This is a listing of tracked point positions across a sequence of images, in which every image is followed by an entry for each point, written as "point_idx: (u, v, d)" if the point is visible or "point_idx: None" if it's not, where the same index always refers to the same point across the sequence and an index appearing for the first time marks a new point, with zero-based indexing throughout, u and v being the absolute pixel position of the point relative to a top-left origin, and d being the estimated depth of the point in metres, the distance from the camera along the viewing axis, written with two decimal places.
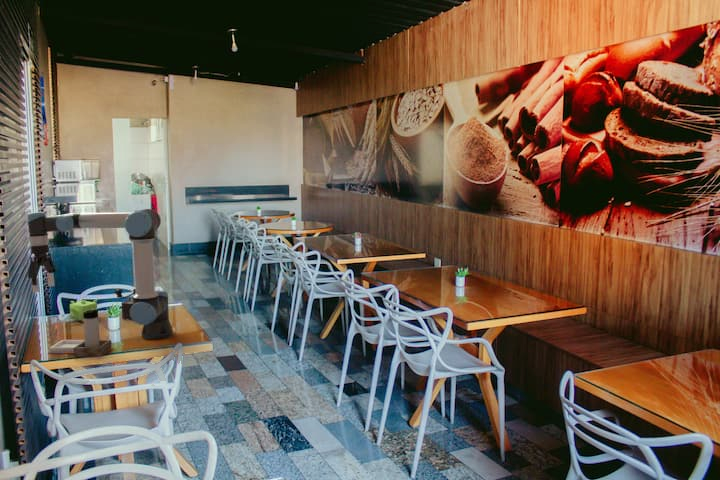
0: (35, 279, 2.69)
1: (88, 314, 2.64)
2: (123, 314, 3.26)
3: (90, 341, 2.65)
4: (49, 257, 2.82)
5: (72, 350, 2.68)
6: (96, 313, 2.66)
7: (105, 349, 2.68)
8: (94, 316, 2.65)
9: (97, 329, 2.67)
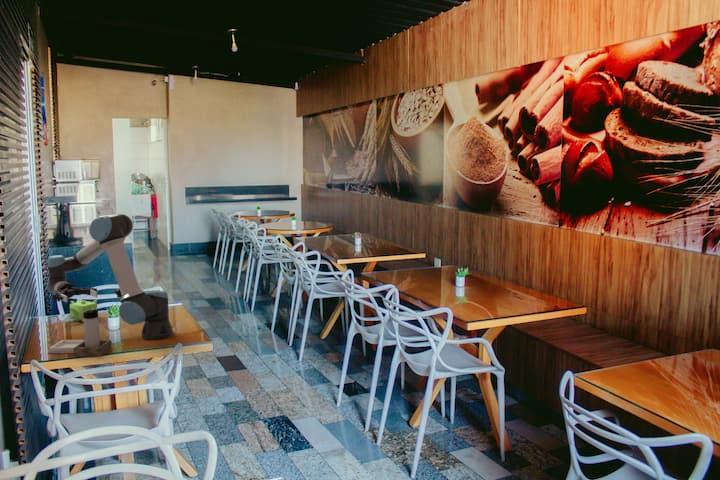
0: (59, 295, 2.71)
1: (88, 314, 2.64)
2: None
3: (90, 341, 2.65)
4: (82, 288, 2.87)
5: (72, 350, 2.68)
6: (96, 313, 2.66)
7: (105, 349, 2.68)
8: (94, 316, 2.65)
9: (97, 329, 2.67)
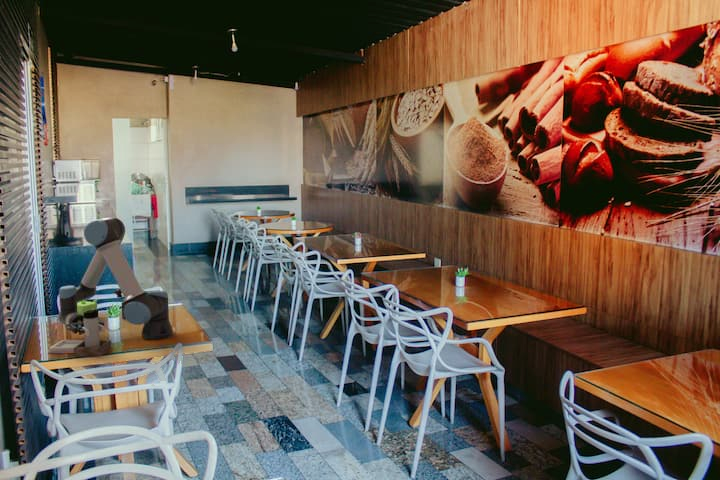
0: (81, 329, 2.65)
1: (88, 314, 2.64)
2: (123, 314, 3.26)
3: (90, 341, 2.65)
4: None
5: (72, 350, 2.68)
6: (96, 313, 2.66)
7: (105, 349, 2.68)
8: (94, 316, 2.65)
9: (97, 329, 2.67)
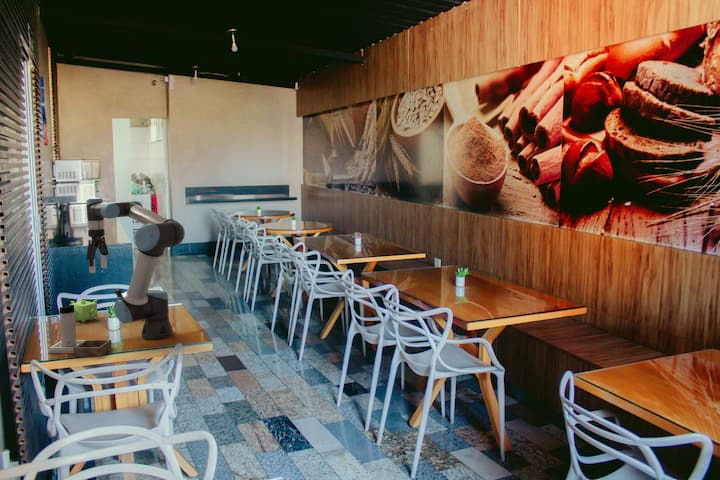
0: (92, 261, 2.87)
1: (64, 309, 2.69)
2: None
3: (66, 335, 2.70)
4: (103, 240, 2.99)
5: (72, 350, 2.68)
6: (72, 308, 2.71)
7: (105, 349, 2.68)
8: (70, 311, 2.70)
9: (73, 324, 2.72)
